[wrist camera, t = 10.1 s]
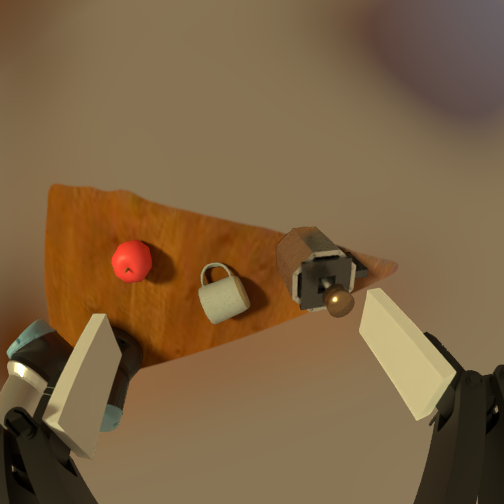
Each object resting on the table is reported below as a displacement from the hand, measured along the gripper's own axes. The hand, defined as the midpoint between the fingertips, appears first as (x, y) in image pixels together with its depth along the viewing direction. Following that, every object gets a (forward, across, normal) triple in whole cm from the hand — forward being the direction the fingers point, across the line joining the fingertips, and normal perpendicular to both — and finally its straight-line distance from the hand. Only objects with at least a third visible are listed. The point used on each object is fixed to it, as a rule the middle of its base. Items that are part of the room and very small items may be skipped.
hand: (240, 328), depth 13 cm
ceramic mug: (+39, -2, -19) cm, 43 cm away
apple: (+39, -18, -11) cm, 44 cm away
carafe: (+39, +17, -14) cm, 44 cm away
